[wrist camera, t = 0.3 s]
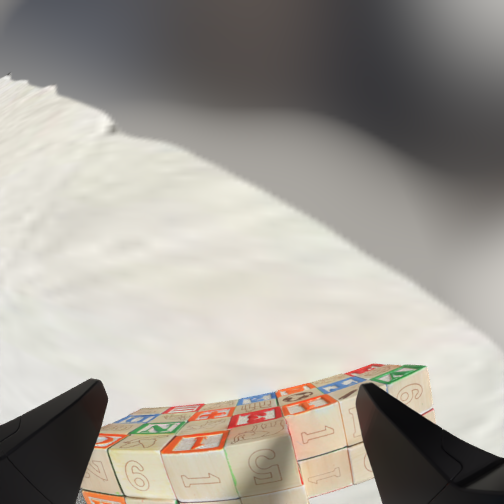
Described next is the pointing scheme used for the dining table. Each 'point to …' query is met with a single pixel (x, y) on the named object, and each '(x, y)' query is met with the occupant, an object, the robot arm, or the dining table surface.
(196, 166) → the dining table surface
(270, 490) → the stack of blocks
